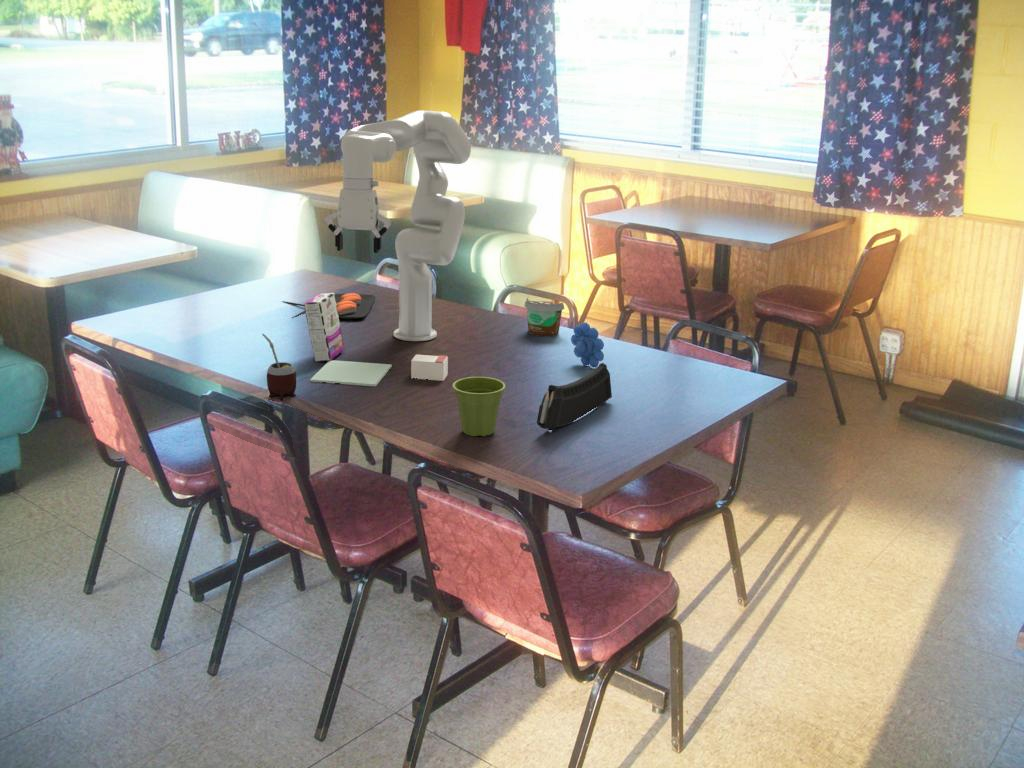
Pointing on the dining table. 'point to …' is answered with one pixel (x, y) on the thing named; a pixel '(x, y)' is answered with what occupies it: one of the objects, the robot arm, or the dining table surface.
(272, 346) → the mate gourd
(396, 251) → the robot arm
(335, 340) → the candy bar box
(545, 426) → the magazine
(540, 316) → the food container
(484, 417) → the plant pot
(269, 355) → the dining table surface
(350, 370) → the mat
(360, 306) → the sushi plate
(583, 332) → the grapes
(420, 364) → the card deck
